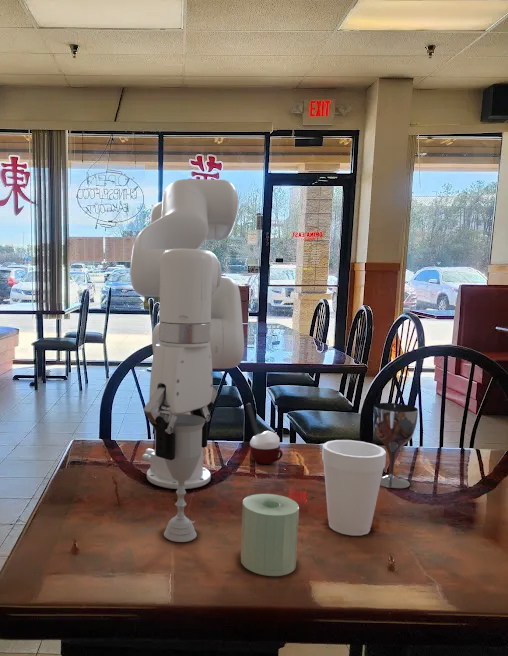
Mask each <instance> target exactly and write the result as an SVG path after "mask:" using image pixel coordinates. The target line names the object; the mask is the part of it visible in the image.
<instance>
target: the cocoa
mask: <svg viewBox="0 0 508 656" xmlns="http://www.w3.org/2000/svg"><path fill="white" fill-rule="evenodd" d="M245 408H246V411H247V415H248V419H249V422H250V425H251V426H250V427H251V429H252V434H253V436H252V438H251V439H250V441H249V446H250V448H249V449H250V453H251V457H252V459H253V460H254V461H255V462H256V463H257V464H261V465H271V464H274V463H276V462H278V461H279V460H281V459H282V457H283V451H282V449H281V445H280V444H281V443H280V440H281V439H280V437H279V435H278V434H277V433H275V432H273V431H271V430H265V431H263V432H261V433H260V430H259V427H258V424H257V419H256V416H255V413H254V409H253V406H252V403H250V402H248V403H245Z"/></svg>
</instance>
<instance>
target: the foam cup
mask: <svg viewBox="0 0 508 656" xmlns="http://www.w3.org/2000/svg"><path fill="white" fill-rule="evenodd" d="M321 452H322V454H321V460H322V463H323V470H324V471H323V472H324V482H325V483H324V485H325V498H326V509H327V510H326V511H327V519H328V520H327V521H328V526H329V528H330V529H332V530H333V531H334V532H337V533H339V534H342V535H347V536H364V535H368V534H369V533H370V531H371V528H372V524H373V519H374V514H375V510H376V505H377V502H378V501H377V500H378V497H379V492H380V487H381V485H380V482H381V478H382V475H383V473H384V469H385V468H386V462H387V460H386V459H387V451H386V450H385V448H384V447H381V446H380V445H377V444H375V443H370V442H366V441H361V440H352V439H335V440H328V441H326V442H324V443H323V444H322V451H321Z"/></svg>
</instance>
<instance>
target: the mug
mask: <svg viewBox="0 0 508 656" xmlns="http://www.w3.org/2000/svg"><path fill="white" fill-rule="evenodd" d="M241 509H242V510H241V535H240V537H241V538H240V563H241V565H242V566H243V567H244V568H245V569H247V571H248V570H249V571H250V572H253V573H254V574H257V575H261V576H269V577H281V576H286V575H289V574H291V573H292V572H294V571H295V570H296V568H297V559H298V557H297V556H298V537H299V536H298V534H299V520H300V519H299V516H300V507H299V504H298V503H297V501H295V500H293V499H292V498H291V497H287V496H284V495H281V494H274V493H255V494H251V495H248V496H246V497H245V498H244V499H242V507H241Z"/></svg>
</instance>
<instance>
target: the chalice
mask: <svg viewBox="0 0 508 656" xmlns="http://www.w3.org/2000/svg"><path fill="white" fill-rule="evenodd" d="M168 418H169V416H165V417H164V420H165V421H166V423H167V421H168ZM205 421H206V420H205V419H204V418H203V417H200V416H196V415H189V414H179V415H178V416H177V419H176V422H175V425H174V428H173V431H172V432H173V433H175V459H173V460H168V459H165V462H166V465H167V467H168V469H169V471H170V473H171V476H172V478H173V479H175V480H178V489H176V491H175V494H176V495H177V501H176V502H175V503H174V505H175V506H176V508H177V509H176V510H177V513H176V515H175V516H172V518H171V519H170V520H169V521H168V524H167V525H166V528H165V530H164V532H163V536H164V537H165V538H166V539H167V540H169V541H171V542H176V543H186V542H191V541H193V540H195V539H196V537H197V535H198V534H197V532H196V530H195V527H194V524H193V522H192V520H191V519H190V518H189V517H187V516H186V515H185V512H184V510H185V507H186V506H187V502H186V500H185V495H186V494H187V491H186V489H185V488H184V483H185V480H188V479H190V478H191V476H192V474H193V472H194V470H195V468H196V466H197V464H198V461H199V458H200V455H201V451H202V427H203V425H204V423H205ZM206 422H207V421H206Z"/></svg>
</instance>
